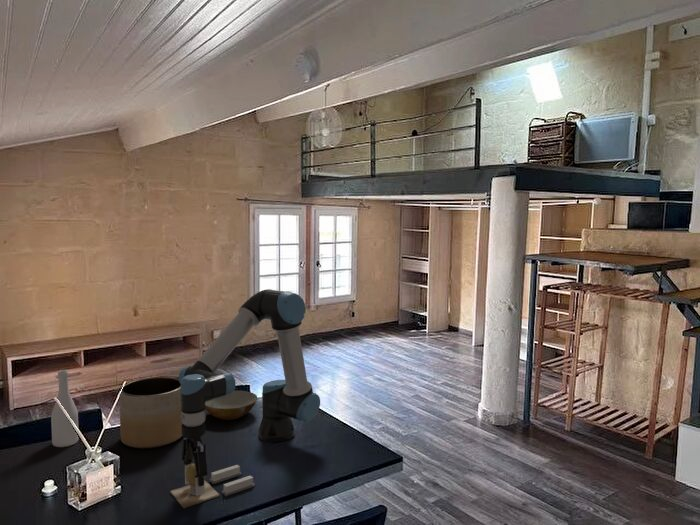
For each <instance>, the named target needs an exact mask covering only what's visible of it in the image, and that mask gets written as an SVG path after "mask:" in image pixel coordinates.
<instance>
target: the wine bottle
mask: <svg viewBox="0 0 700 525" xmlns="http://www.w3.org/2000/svg"><path fill="white" fill-rule="evenodd" d="M68 376H69V370H68V369H60V370H58V371H57V378H58V392H57V396H56V399H58V400H59V401H60V403H61V405H62V406H63V407H64V409H65V410H66V411H67V413H68V414H69V416H70V418H71V419H72V420H73V421H74V423H75V424H76V426H77V427H78V428H79V412H78V409H77V406H76V404H75V402H74V401H73V398H72V395H71V393H70V390H69V377H68ZM50 416H51V417H50V419H51V420H50V422H51V443H52V446H53V447H55V448H65V447H70V446H72V445H75V444H77V443H78V442H79V440H80V439H79V438H80V436H79V437H78V435H77V433H76V432H75V430H74V429H73V427H72V425H71V424H70V422H69V421H68V419H67V418H66V416H65V415H64V413H63V411H62V410H61V408H60V407H59V405H58V404H57V402H56V401H55V402H54V406H53V409H52V413H51V415H50Z"/></svg>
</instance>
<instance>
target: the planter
mask: <svg viewBox="0 0 700 525" xmlns="http://www.w3.org/2000/svg"><path fill="white" fill-rule="evenodd" d="M124 385H125V386H124V387H123V385H122V386H120V388H119V392H120V391H121V389H122V387H123V389H122V392H121V394H120V393H119V429H120V430H119V431H120V432H119V434H120V435H119V436H120V441H121V443H123V444H124V445H125V446H127V447H129V448H134V449H142V450H143V449H144V450H145V449H146V450H147V449H155V448H160V447H165V446H168V445H170V444H173V443H175V442H177V441H178V440H180V439H181V437H182V438H183V436H182V424H183V423H182V418H180V416H181V415H182V413H181V392H180V390H181V384H180V382H179V378H176V377H175V378H174V377H167V376H158V377H156V376H155V377H147V378H140V379H136V380H133V381H130V382H127V383H125V384H124Z"/></svg>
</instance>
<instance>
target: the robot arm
mask: <svg viewBox="0 0 700 525" xmlns="http://www.w3.org/2000/svg"><path fill="white" fill-rule="evenodd" d="M306 307H307V306H306V304H305V301H304V299H303V298H302V296H301V295H299V294H298V293H296V292H295V293H294V292H292V291H283V290H276V289H269V288H268V289H263V290H260V291H258V292H257V293H255V294H253V295H252V296H250V297H249V298H248V299H247V300H246V301H245V302H244V303H243V304H242V305H241V306H240V307H239V308H238V311H237V312H238V313H237V314H236V316H235V317H234V318H233V319H232V320H231V321H230V323H229V324H227V326H226V327H225V329H224V328H223V329H224V330H222V332H221V333H220V334H219V335H218V336H217V338H215V340H214V341H213V342H212V343H211V344H210V345H209V346H208V348H207V349H206V350H205V351H204V352H203V353H202V355H201V356H200V357H199V358H198V359H197V360H196V362H195V363H193V365H188V366H185V367H183V368H181V370H180V372H179V374H178V379H179V382H180V384H181V390H180V392H181V413H182V415H181V416H180V418H182V423H183V424H182V448H181V449H182V450H181V461H182V462H183V464H184V484H185V486H187V485H190V483H189V482H188V481H187V479H186V470H187V468H188V467H189V466H190V465H192V464H195V468H196V474H197V476H195V483H196V496H198V495H201V494H204V493H205V488H204V480H205V478H204V476H205V477H206V476H208V465H207V455H206V451H207V449H206V448H207V446H206V444H203V440H202V437H203V435H205V434H206V422H205V421H206V409H205V402H206V401H209V400H212V399H216V398H219V397H222V396H226V395H228V394H230V393H232V392H233V391H234V390H236V383H237V382H236V378H235V376H234V375H233V374H232V373H231V372H227V371H226V372H221V373H218V374H217V373H216V371H217V370H218V368H219V367H220V366H221V365H222V364H223V363H224V362H225V360H226V359H227V358H228V357H229V355H231V353H232V352H233V351H234V349H235V348H236V347H237V346H239V343H241V341H242V340H243V339H244V338H245V337H246V335H247V334H248V333H249V331H251V330H252V328H253V327H255V326H259V324H260V323H261V322H262V321H263V320H269V321H270V324H271V329H272V330H273V331H275V332H276V335H277V341H278V345H279V346H278V347H279V352H280V358H281V364H282V369H283V374H284V376H283V377H284V379H274V380H270V381H267V382H265V383H264V384H263V385H262V391H261V399H262V400H261V401H262V402H261V403H262V406H261V407H262V418H261V422H260V425H259V428H258V438H259V440H261V441H264V442H268V443H280V442H286V441H288V440H291V439H292V438H294V436H295V426H294V423H293V421H292V419H293V420H297V421H299V422H301V421H302V422H310V421H312V420H313V419H314V418H315V417H316V416H317V414H318V413H319V409H320V407H321V398H320V396H319V395H318V394H317V393H316V392H314V391H313V384H312V383H311V382H310V381H308V378H307V371H306V366H305V360H304V359H305V358H304V352H303V346H302V342H301V336H300V335H301V334H300V329H299V328H300V327H301V325H302V321H303V320H304V318H305V314H306V309H307V308H306Z"/></svg>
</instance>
